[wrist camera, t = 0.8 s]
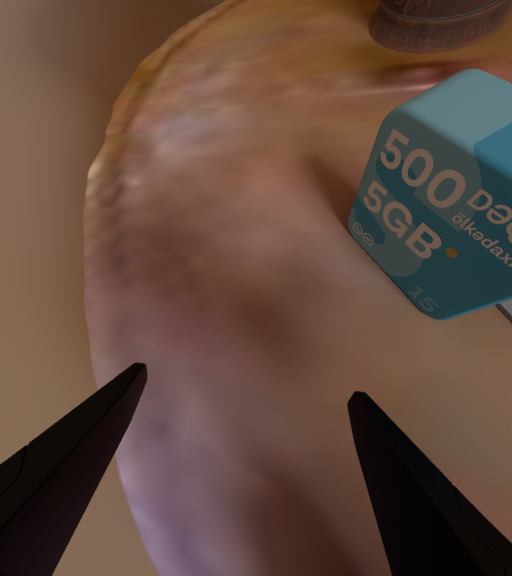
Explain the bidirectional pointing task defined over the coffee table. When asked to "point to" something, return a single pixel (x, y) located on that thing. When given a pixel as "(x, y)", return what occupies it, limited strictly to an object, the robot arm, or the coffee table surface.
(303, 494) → the coffee table surface
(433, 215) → the data package
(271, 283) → the coffee table surface
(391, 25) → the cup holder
